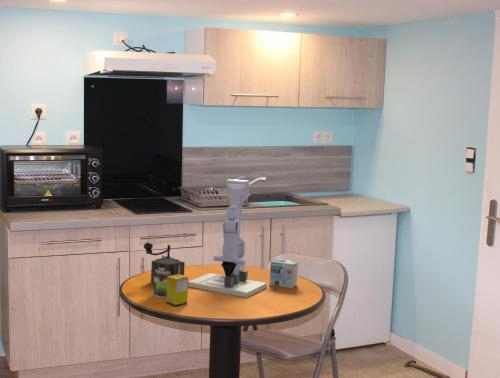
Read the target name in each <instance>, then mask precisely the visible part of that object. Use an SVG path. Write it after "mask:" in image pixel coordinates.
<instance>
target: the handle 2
mask: <svg viewBox="0 0 500 378" xmlns="http://www.w3.org/2000/svg"><path fill="white" fill-rule="evenodd" d="M248 273H249V271H248V270H245V269H244V270H240V271H239V280H241V281H246V280H248V277H249V275H248Z"/></svg>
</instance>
